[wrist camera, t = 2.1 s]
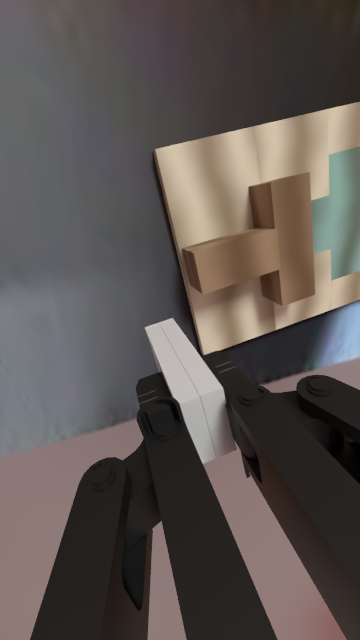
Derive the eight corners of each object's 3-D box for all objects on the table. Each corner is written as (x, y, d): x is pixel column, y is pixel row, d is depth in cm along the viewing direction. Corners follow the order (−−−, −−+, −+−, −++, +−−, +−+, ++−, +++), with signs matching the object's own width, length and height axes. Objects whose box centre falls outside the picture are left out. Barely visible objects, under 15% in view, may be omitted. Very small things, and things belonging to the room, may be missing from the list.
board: (200, 351, 35) (204, 356, 34) (152, 152, 26) (155, 149, 25) (386, 284, 39) (394, 286, 38) (398, 94, 30) (409, 90, 29)
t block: (197, 318, 32) (210, 331, 28) (172, 207, 27) (183, 205, 23) (292, 286, 34) (315, 294, 30) (283, 177, 29) (309, 171, 25)
